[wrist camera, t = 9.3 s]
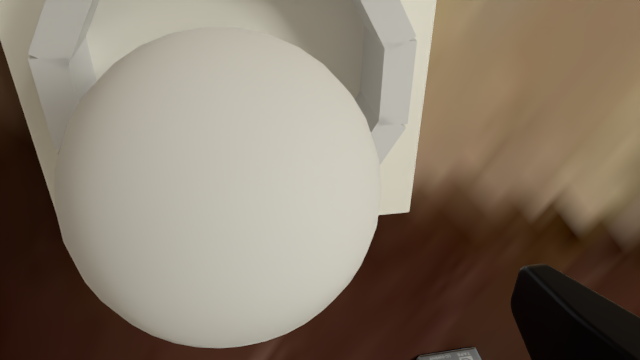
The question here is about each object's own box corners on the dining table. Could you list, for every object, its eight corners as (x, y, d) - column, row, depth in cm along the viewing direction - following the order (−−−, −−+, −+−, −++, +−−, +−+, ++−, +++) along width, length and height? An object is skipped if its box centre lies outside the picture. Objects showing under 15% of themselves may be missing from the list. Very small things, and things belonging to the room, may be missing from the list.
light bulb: (202, -91, 15) (174, -1, 6) (360, 52, 18) (501, 258, 9) (80, 78, 17) (-82, 340, 8) (241, 181, 20) (257, 458, 11)
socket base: (440, -179, 16) (499, -183, 13) (398, 192, 24) (429, 249, 21) (-51, -189, 14) (-129, -199, 11) (74, 223, 22) (51, 291, 18)
